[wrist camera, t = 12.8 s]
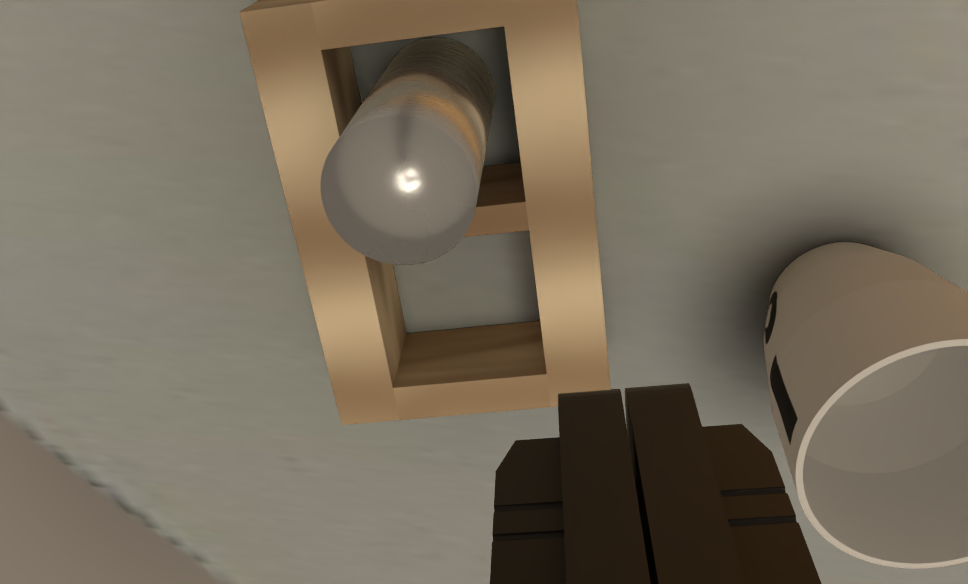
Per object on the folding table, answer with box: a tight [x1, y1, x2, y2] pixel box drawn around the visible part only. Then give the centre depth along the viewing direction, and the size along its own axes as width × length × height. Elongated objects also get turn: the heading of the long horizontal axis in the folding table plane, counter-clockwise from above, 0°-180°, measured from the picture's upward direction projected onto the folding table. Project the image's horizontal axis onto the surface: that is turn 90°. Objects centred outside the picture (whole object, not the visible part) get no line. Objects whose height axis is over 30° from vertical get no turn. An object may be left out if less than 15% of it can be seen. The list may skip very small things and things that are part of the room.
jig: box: [239, 0, 611, 425], centre depth 32 cm, size 15×10×4 cm, turn 8°
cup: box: [764, 242, 968, 568], centre depth 30 cm, size 8×8×10 cm
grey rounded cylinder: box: [320, 37, 495, 265], centre depth 28 cm, size 4×4×10 cm
